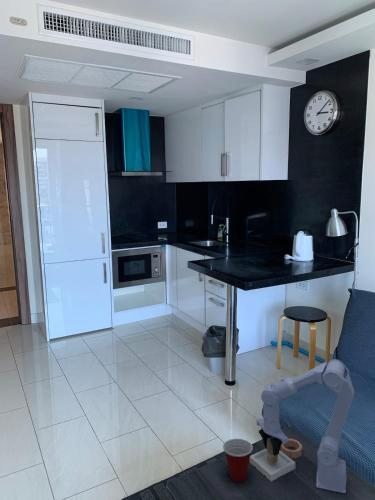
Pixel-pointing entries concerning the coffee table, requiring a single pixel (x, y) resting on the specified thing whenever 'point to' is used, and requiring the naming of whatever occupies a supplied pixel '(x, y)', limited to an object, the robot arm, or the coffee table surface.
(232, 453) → the plastic cup
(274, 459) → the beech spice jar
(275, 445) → the robot arm
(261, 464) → the grey tray
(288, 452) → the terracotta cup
